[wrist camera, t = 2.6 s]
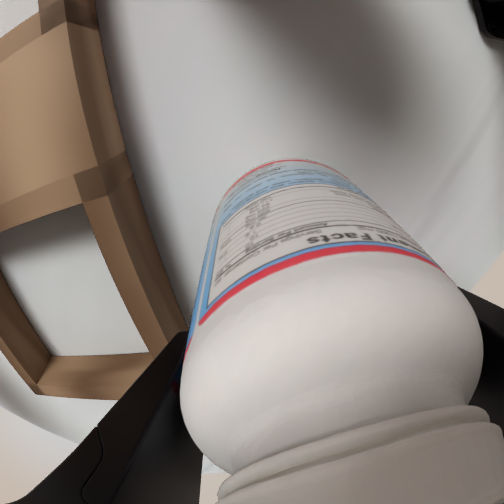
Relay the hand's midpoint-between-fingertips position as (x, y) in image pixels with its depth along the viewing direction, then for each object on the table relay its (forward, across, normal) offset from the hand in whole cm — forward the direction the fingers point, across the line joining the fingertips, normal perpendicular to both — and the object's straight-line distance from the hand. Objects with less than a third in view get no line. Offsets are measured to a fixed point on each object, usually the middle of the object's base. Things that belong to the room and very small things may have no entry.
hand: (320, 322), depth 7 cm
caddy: (+6, +11, -7) cm, 14 cm away
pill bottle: (+6, 0, 0) cm, 6 cm away
